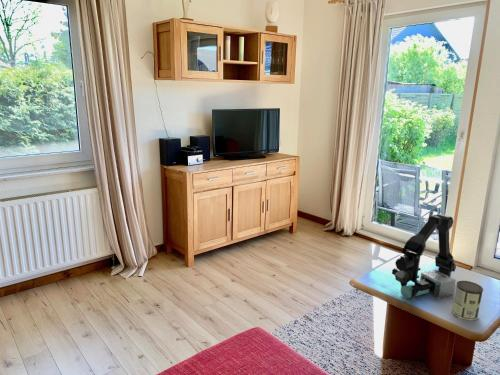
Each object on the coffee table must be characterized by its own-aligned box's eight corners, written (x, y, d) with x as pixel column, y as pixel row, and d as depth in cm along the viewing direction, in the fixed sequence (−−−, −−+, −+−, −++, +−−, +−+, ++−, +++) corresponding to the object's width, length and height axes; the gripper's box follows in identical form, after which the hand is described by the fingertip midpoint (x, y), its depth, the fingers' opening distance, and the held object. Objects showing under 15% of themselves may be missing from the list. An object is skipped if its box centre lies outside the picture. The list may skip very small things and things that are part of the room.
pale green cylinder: (419, 290, 186) (420, 279, 185) (428, 296, 181) (430, 285, 179) (399, 294, 181) (401, 283, 180) (409, 300, 176) (411, 289, 175)
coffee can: (464, 306, 173) (469, 279, 170) (483, 318, 164) (488, 290, 160) (446, 309, 170) (451, 281, 167) (464, 322, 161) (470, 293, 157)
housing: (433, 283, 194) (435, 269, 192) (453, 294, 183) (455, 280, 181) (418, 286, 190) (420, 272, 188) (437, 298, 179) (440, 283, 177)
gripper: (385, 259, 181) (381, 288, 184) (414, 276, 164) (410, 307, 168) (402, 256, 185) (398, 284, 189) (433, 272, 168) (428, 303, 172)
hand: (408, 294), depth 179 cm, fingers closed on pale green cylinder, 6 cm apart
